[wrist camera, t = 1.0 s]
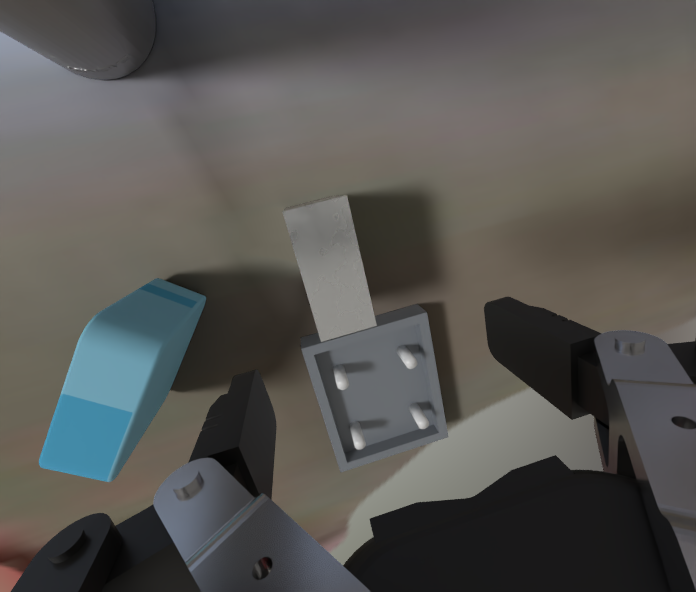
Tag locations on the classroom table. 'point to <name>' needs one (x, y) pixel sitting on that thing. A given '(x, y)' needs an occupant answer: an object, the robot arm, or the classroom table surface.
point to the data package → (120, 379)
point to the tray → (378, 387)
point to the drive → (330, 265)
